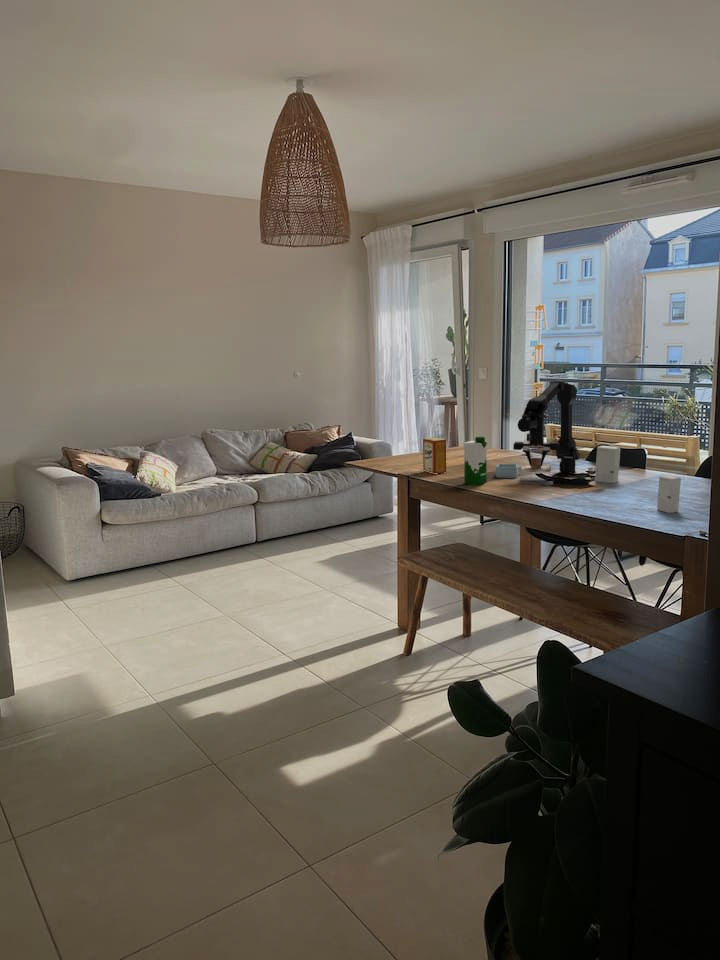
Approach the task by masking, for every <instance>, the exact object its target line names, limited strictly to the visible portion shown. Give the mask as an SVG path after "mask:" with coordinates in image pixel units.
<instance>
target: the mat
mask: <svg viewBox="0 0 720 960" xmlns="http://www.w3.org/2000/svg"><path fill="white" fill-rule="evenodd" d="M541 478H542V477H519V481H518V484H517V485H546V486H547V485H550V486H551V485H552V486H553V484H554V480H553V481H546V480H543V479H541Z"/></svg>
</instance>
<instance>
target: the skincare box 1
mask: <svg viewBox="0 0 720 960" xmlns="http://www.w3.org/2000/svg"><path fill="white" fill-rule="evenodd" d="M620 460H621V447H618V446H612V445H611V446H609V445H600V446H597V447H596V459H595V471H594V472H595V473H594V482H597V483H607V484H608V483H609V484H615V483H617V482H619V476H620V475H619V472H620V463H621V462H620Z"/></svg>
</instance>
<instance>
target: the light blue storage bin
mask: <svg viewBox="0 0 720 960" xmlns="http://www.w3.org/2000/svg"><path fill="white" fill-rule="evenodd" d="M518 476H519V464H518V463H497V465H496V466H495V478H497V479H498V478H499V479H506V478H507V479H517V478H518Z"/></svg>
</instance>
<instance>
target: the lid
mask: <svg viewBox="0 0 720 960" xmlns="http://www.w3.org/2000/svg"><path fill="white" fill-rule="evenodd" d="M541 458H542V457H531V466H530V465H528V464H527V465H525V464H523V465H522V466H521V467H520V468H521V469H520V473H549V474H550V473H551V470H552V465H542V466H541Z"/></svg>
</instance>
